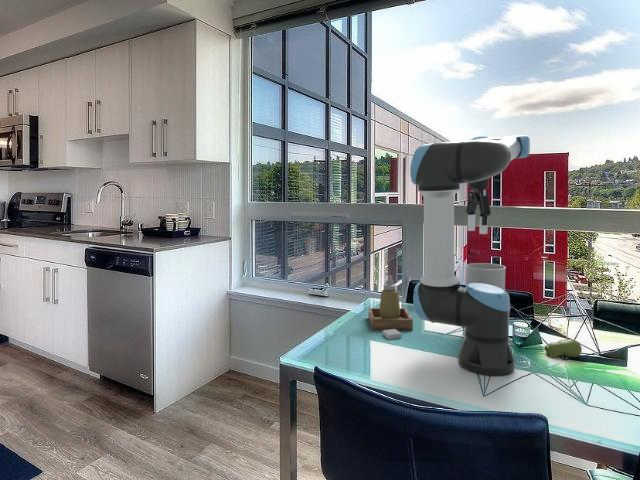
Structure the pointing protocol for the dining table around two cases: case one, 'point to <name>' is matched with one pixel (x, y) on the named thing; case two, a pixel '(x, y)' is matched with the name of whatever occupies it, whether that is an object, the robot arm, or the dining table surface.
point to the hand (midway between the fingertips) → (477, 232)
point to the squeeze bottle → (389, 301)
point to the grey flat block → (392, 334)
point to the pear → (564, 348)
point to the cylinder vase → (486, 274)
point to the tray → (390, 320)
